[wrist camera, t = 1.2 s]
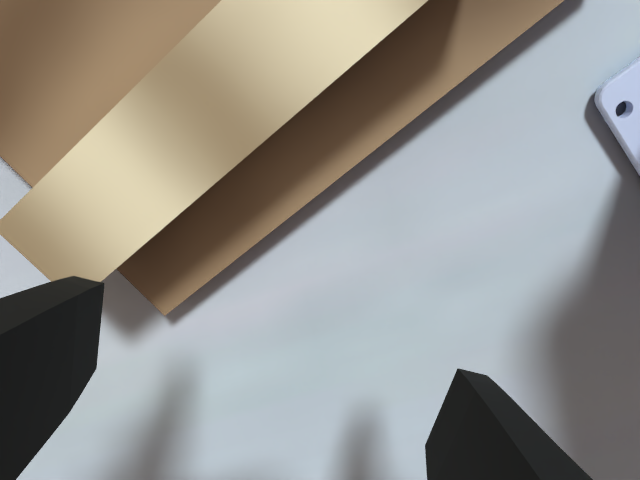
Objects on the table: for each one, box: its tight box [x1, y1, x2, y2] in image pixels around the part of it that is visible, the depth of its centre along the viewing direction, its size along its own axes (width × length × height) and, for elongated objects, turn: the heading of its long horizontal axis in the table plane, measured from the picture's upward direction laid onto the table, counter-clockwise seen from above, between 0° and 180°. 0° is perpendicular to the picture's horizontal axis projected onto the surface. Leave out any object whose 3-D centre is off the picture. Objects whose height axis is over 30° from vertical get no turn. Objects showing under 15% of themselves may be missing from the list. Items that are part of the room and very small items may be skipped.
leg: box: [0, 0, 428, 282], centre depth 13 cm, size 14×3×4 cm, turn 130°
